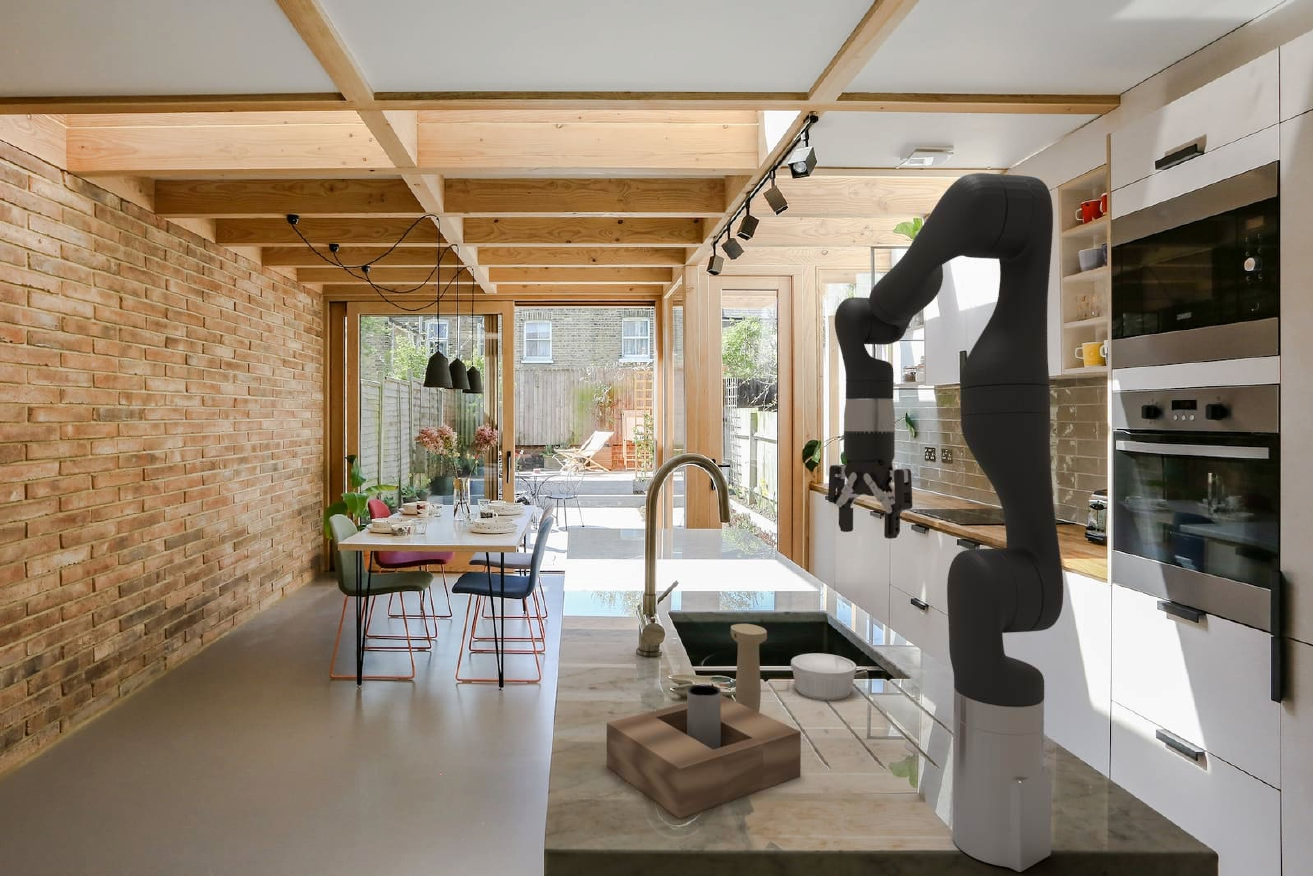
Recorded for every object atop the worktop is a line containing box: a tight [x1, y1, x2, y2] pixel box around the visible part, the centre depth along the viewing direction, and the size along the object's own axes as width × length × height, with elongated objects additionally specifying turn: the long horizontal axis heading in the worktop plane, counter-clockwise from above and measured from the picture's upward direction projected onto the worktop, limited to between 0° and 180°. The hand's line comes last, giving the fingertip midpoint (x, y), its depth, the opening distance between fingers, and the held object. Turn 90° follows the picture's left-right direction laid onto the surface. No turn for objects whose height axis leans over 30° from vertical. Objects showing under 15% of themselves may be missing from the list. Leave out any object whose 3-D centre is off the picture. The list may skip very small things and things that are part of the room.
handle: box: [730, 623, 768, 713], centre depth 121 cm, size 5×6×15 cm
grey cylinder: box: [686, 684, 722, 750], centre depth 105 cm, size 4×4×10 cm
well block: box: [606, 694, 802, 819], centre depth 105 cm, size 17×20×6 cm
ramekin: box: [790, 652, 857, 701], centre depth 136 cm, size 11×11×5 cm
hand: (868, 534), depth 118 cm, fingers open, 8 cm apart
